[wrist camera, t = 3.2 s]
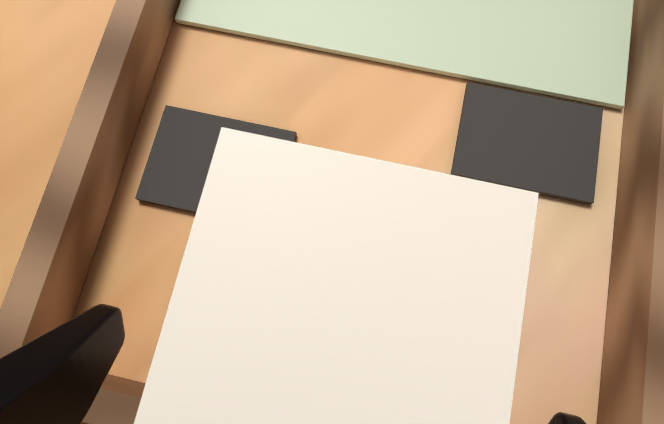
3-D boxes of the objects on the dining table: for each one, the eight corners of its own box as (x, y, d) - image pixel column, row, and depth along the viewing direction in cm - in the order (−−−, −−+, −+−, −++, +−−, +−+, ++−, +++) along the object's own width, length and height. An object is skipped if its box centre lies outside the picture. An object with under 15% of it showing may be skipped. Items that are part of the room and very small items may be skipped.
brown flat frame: (620, 536, 16) (671, 576, 14) (18, 386, 18) (-34, 398, 15) (663, -52, 22) (705, -98, 19) (201, -132, 23) (185, -185, 20)
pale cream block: (386, 391, 17) (491, 561, 6) (263, 362, 18) (120, 467, 6) (409, 267, 18) (539, 192, 7) (293, 241, 19) (221, 127, 7)
